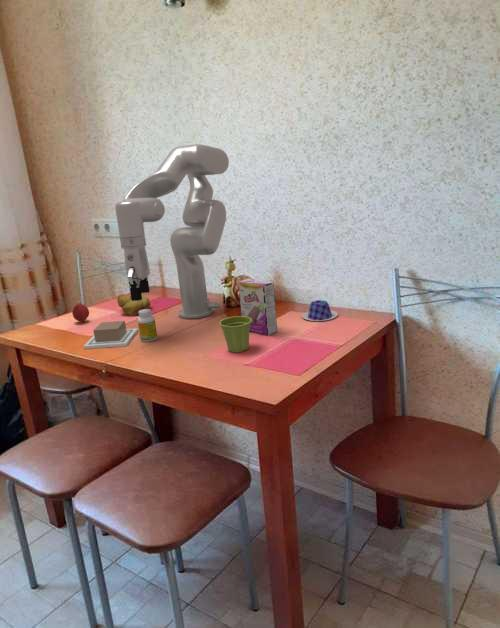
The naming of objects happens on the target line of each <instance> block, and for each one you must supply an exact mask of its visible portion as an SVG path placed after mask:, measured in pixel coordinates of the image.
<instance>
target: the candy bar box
mask: <svg viewBox="0 0 500 628" xmlns="http://www.w3.org/2000/svg"><path fill="white" fill-rule="evenodd" d="M237 285H238V293H239V294H238V295H239V304H240V305H239V306H240V313H241V316H245V317H249V318H251V319H252V322H251V324H250V330H249V333H255V334H259V335H263V336H267V337H269V336H271V335H273V334H275V333H277V332H278V321H277V320H278V319H277V311H276V310H277V309H276V296H275V284H274V281H268V280H261V279H260V280H259V279H253V278H245V279H241V280H239V281H238V282H237Z"/></svg>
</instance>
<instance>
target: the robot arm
mask: <svg viewBox="0 0 500 628" xmlns="http://www.w3.org/2000/svg"><path fill="white" fill-rule="evenodd" d="M229 164H230V163H229V157H228V154H227V153H226V152H225V151H224V150H223V149H221V148H218V147H213V146H209V145H205V144H199V143H196V144H189V145H188V144H187V145H186V144H185V145H180V146H176V147H173V148H172V149H171V151H170V152H169V153H168V154H167V156H166V157H165V159H164V160H163V161H162V163H161V164H160V165H159V167H158V168H157V170H156V171H155V172H153V173H152V174H151V175H148V176H147V177H146V178H144V179H142V181H140V182H138V183H137V184H136V185H134V186H133V187H132V188H131V189H130V190H129V191H128V193H127V194H126V196H125V197H124V198H123V200H122V201H118V202H117V203H116V204H115V207H114V209H115V214H116V221H117V228H118V235H119V242H120V248H121V249H123V251H124V253H123V254H124V265H125V271H126V272H125V273H126V276H127V280H128V288H129V292H130V296H131V300H132V301H138V300H142V294H147V293H150V285H149V283H150V282H149V277H148V276H149V275H150V273H151V271H150V265H149V259H148V254H147V250H146V246H147V243H146V242H147V241H146V235H145V227H144V223H155V222H159V221H160V220H161V219H163V217H164V215H165V211H166V208H165V204H164V203H163V201H162V200H160V199H159V198H160V197H164V196H167V195H169V194H170V193H173V192H175V191H177V189H178V188H179V186H180V185H181V183H182V181H183V180H184V179H185V177H186V176H187V179H188V182H189V192H188V196H187V199H186V202H185V205H184V209H183V211H182V221H183V223H184V225H186V226H185V227H179V228H176V229H175V230H173V232H172V233H171V235H170V246H171V251H172V252H173V255H174V260H175V264H176V269H177V279H178V286H179V292H180V293H179V294H180V299H181V300H180V301H181V307H182V308H181V310H180V311H179V312H178V317H180V318H182V319H186V320H189V319H190V320H193V319H201V318H205V317H208V316H210V315H212V314H213V313H214V309H221V302H218V301H214V302H212V301H210V300H211V299H210V298H208V291H207V283H206V281H207V280H206V275H205V273H206V272H205V267H204V262H203V261H202V259H201V257H200V256H211V255H213V254H215V253H216V251H217V250H218V248H219V246H220V243H221V240H222V235H223V232H224V228H225V225H226V221H227V209H226V206H225V205H224V203H223V202H222V201H220V200H218V199H213V197H214V189H213V186H212V185H211V183H210V181H209V179H208V178H207V176H213V175H214V176H215V175H222V174H224V173H226V172H227V170H228V168H229ZM141 293H142V294H141Z"/></svg>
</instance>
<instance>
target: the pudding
mask: <svg viewBox="0 0 500 628" xmlns="http://www.w3.org/2000/svg"><path fill="white" fill-rule="evenodd" d="M330 307H331V306H330V305H329V302H328V301H326V300H322V299H319V300H317V299H316V300H314V301H313V300H312V301H311V302H310V304H309V309H308V311H305V312H304V313H302V314H301V318H302V319H305V320H307V321H312V322H323V321H329V320H333V319H335V318H336V317H337V316H338V312H337V311H335V310H333V309H332V310H331V308H330Z"/></svg>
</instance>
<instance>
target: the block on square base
mask: <svg viewBox="0 0 500 628" xmlns="http://www.w3.org/2000/svg"><path fill="white" fill-rule="evenodd" d="M138 332H139V327H137V328H136V327H135V328H127V327H126V321H125V320H117V321H104V322H102V321H101V322H100V323H99V324H98V325H97V326H96V327H95V328H94V329H93V336H91V337H90V339H89V340H88V341H86V343H85V344H84V345H83V348H82V349H83V350H92V349H102V348H103V349H104V348H105V349H106V348H118V347H119V348H121V347H128V346H129V344H130V343H131V341H132V340H133V339H134V337H135V336H136V335H137V333H138Z"/></svg>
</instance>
